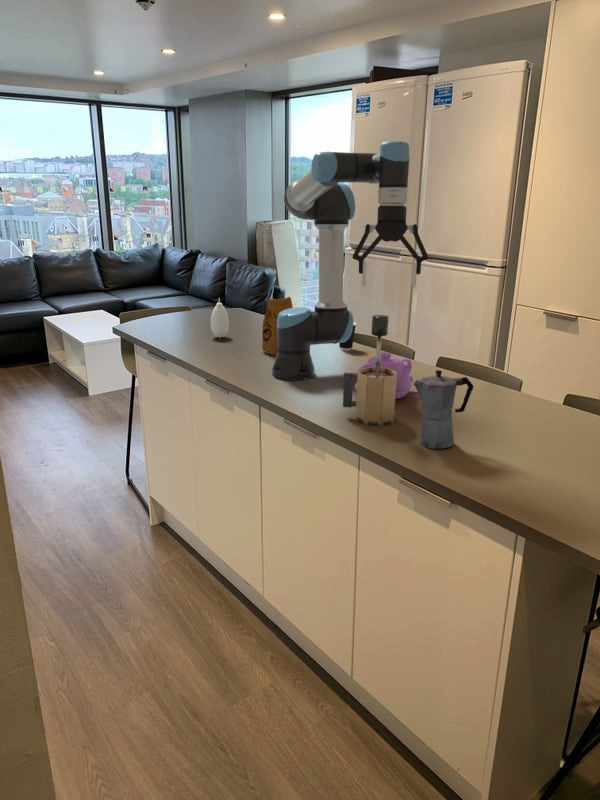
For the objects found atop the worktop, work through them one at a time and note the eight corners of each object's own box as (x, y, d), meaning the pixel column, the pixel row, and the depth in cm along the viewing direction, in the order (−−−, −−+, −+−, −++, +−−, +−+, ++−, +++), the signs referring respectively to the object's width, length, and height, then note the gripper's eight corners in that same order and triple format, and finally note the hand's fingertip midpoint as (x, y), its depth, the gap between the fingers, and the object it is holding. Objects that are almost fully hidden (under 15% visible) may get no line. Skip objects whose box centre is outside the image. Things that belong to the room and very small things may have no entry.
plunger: (362, 381, 169) (364, 318, 163) (365, 373, 176) (368, 313, 170) (389, 383, 168) (393, 320, 162) (391, 375, 175) (395, 314, 169)
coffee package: (259, 351, 247) (258, 297, 239) (285, 347, 253) (285, 294, 246) (271, 356, 239) (270, 301, 232) (297, 352, 245) (298, 298, 238)
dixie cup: (346, 346, 256) (347, 320, 252) (359, 349, 250) (360, 323, 247) (332, 348, 251) (333, 322, 248) (345, 352, 246) (346, 326, 242)
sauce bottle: (232, 337, 269) (231, 296, 263) (221, 340, 263) (220, 299, 257) (219, 334, 273) (217, 295, 267) (207, 338, 267) (206, 297, 261)
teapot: (378, 412, 181) (381, 367, 176) (341, 391, 199) (342, 350, 194) (436, 401, 191) (440, 359, 186) (395, 382, 209) (398, 343, 204)
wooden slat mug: (339, 422, 173) (341, 375, 168) (345, 409, 183) (347, 364, 178) (392, 427, 170) (395, 379, 165) (395, 413, 180) (398, 368, 175)
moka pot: (404, 436, 163) (409, 365, 157) (460, 435, 164) (467, 364, 158) (413, 451, 154) (419, 376, 148) (472, 449, 155) (480, 375, 149)
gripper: (344, 205, 158) (342, 287, 164) (441, 204, 154) (436, 288, 161) (346, 205, 165) (344, 283, 171) (439, 205, 161) (434, 285, 168)
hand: (388, 286), depth 166 cm, fingers open, 13 cm apart
